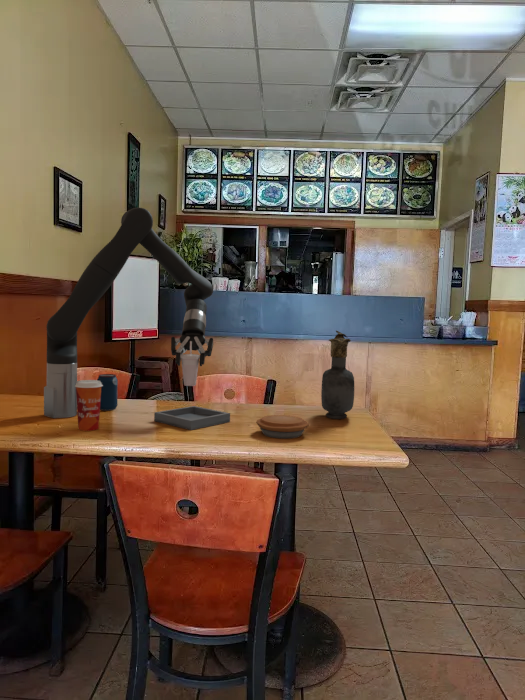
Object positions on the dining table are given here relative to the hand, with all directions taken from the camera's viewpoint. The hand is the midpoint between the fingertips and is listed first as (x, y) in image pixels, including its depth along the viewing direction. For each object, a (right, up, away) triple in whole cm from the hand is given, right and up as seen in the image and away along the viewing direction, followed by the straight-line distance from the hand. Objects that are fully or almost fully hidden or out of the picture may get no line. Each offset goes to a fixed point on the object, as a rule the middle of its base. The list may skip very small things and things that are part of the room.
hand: (189, 364), depth 165 cm
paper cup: (-28, -19, -12) cm, 36 cm away
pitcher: (+49, -19, +19) cm, 56 cm away
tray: (+1, -18, +2) cm, 19 cm away
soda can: (-31, -16, +18) cm, 40 cm away
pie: (+29, -21, -11) cm, 37 cm away
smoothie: (0, -7, +2) cm, 7 cm away
